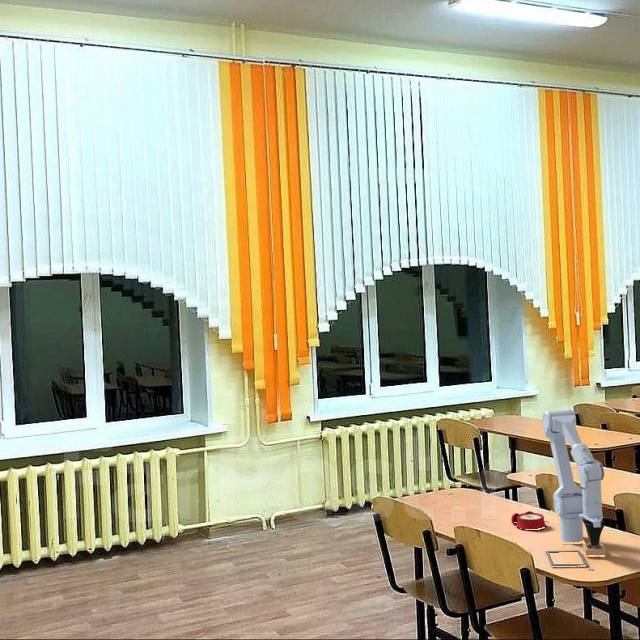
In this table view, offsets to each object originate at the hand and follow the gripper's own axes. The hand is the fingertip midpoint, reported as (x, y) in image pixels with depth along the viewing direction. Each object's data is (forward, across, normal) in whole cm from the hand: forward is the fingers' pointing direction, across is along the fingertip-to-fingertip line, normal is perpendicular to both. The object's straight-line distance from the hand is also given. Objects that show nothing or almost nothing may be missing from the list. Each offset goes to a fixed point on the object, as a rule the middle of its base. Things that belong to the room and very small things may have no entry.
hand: (593, 543), depth 269 cm
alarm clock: (+4, -34, -16) cm, 39 cm away
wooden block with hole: (+4, 0, 0) cm, 4 cm away
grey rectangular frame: (+4, +5, -10) cm, 11 cm away
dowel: (+3, 0, 0) cm, 3 cm away
